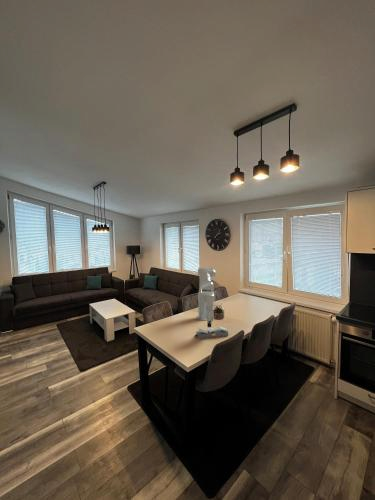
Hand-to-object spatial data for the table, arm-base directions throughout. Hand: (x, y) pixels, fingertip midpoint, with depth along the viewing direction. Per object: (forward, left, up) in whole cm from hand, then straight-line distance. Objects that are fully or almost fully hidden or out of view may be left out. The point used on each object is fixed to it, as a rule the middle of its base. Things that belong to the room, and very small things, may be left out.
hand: (209, 326), depth 190 cm
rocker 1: (+1, -6, -3) cm, 7 cm away
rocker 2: (+1, +3, -3) cm, 4 cm away
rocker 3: (+1, +13, -3) cm, 13 cm away
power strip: (0, +2, -9) cm, 9 cm away
